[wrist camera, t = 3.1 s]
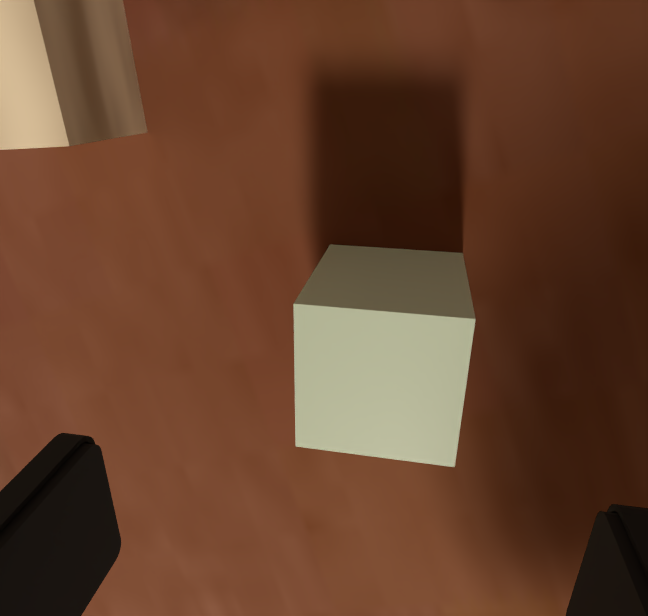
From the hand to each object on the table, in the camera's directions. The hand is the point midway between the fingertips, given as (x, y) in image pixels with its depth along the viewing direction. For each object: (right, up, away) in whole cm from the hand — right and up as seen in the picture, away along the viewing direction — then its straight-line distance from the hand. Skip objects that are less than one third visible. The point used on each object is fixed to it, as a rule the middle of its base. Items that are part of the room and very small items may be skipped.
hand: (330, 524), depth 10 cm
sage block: (+3, +4, +11) cm, 12 cm away
